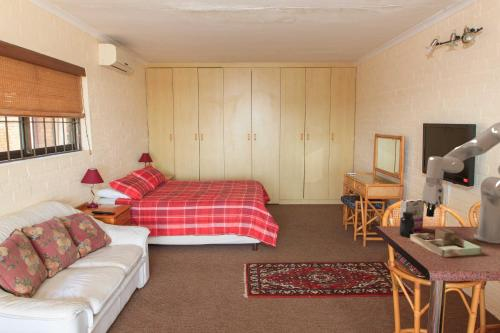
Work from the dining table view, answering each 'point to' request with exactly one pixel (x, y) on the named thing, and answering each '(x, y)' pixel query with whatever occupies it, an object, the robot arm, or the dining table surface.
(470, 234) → the dining table surface
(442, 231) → the tan wooden block
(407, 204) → the candy bar box
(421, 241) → the lane box
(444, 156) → the robot arm
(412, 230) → the supplement bottle
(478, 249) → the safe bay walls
